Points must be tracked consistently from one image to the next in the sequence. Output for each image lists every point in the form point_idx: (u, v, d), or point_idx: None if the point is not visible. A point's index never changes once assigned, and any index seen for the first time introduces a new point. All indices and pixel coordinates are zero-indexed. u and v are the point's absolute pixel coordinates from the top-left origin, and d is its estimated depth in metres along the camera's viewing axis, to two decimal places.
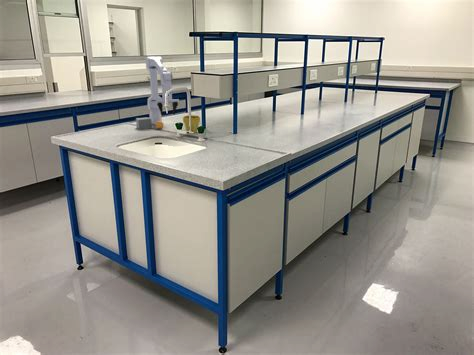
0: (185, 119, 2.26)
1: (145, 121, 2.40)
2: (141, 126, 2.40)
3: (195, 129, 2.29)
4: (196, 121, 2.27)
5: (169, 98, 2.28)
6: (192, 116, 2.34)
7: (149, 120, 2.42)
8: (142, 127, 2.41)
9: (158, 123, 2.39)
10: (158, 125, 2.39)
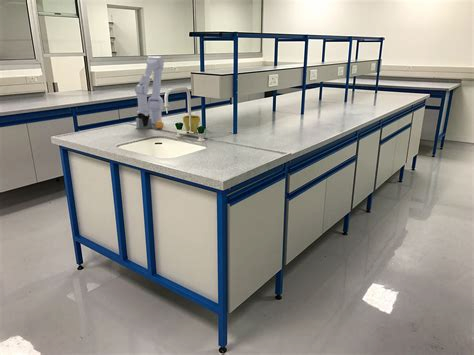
0: (185, 119, 2.26)
1: None
2: (141, 126, 2.40)
3: (195, 129, 2.29)
4: (196, 121, 2.27)
5: (139, 109, 2.38)
6: (192, 116, 2.34)
7: (149, 120, 2.42)
8: (142, 127, 2.41)
9: (158, 123, 2.39)
10: (158, 125, 2.39)
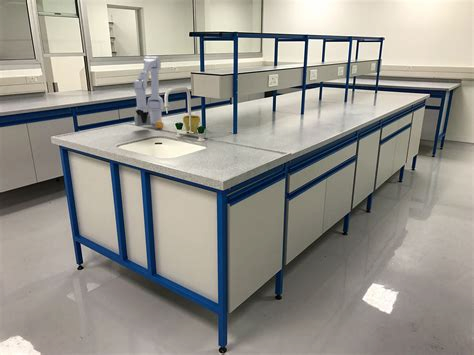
0: (185, 119, 2.26)
1: None
2: (139, 123, 2.32)
3: (195, 129, 2.29)
4: (196, 121, 2.27)
5: (137, 106, 2.30)
6: (192, 116, 2.34)
7: (148, 117, 2.33)
8: (141, 124, 2.32)
9: (158, 123, 2.39)
10: (158, 125, 2.39)
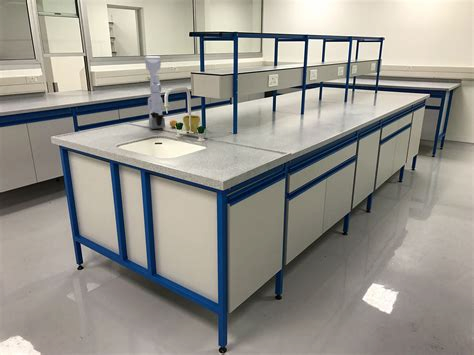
0: (185, 119, 2.26)
1: None
2: (154, 126, 2.37)
3: (195, 129, 2.29)
4: (196, 121, 2.27)
5: (152, 109, 2.36)
6: (192, 116, 2.34)
7: (162, 119, 2.39)
8: (155, 127, 2.38)
9: (174, 126, 2.45)
10: None
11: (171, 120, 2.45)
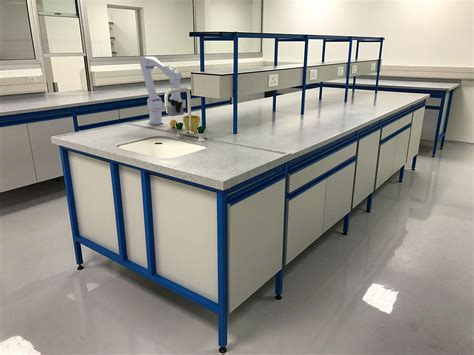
0: (185, 119, 2.26)
1: None
2: (173, 113, 2.41)
3: (195, 129, 2.29)
4: (196, 121, 2.27)
5: (172, 96, 2.40)
6: (192, 116, 2.34)
7: (181, 107, 2.42)
8: (174, 114, 2.42)
9: (174, 126, 2.45)
10: None
11: (171, 120, 2.45)
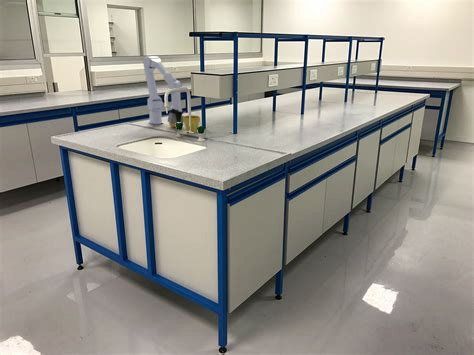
0: (185, 119, 2.26)
1: None
2: (173, 121, 2.42)
3: (195, 129, 2.29)
4: (196, 121, 2.27)
5: (172, 105, 2.42)
6: (192, 116, 2.34)
7: (182, 117, 2.45)
8: (174, 122, 2.43)
9: (174, 126, 2.45)
10: None
11: None
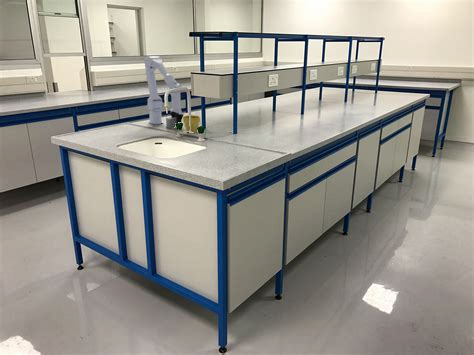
0: (185, 119, 2.26)
1: (175, 121, 2.43)
2: (171, 125, 2.43)
3: (195, 129, 2.29)
4: (196, 121, 2.27)
5: (172, 108, 2.42)
6: (192, 116, 2.34)
7: None
8: (172, 126, 2.43)
9: None
10: None
11: None
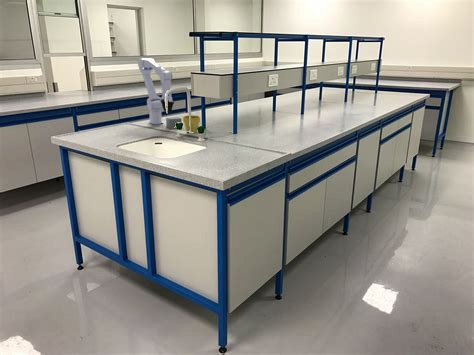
0: (185, 119, 2.26)
1: (175, 121, 2.43)
2: (171, 125, 2.43)
3: (195, 129, 2.29)
4: (196, 121, 2.27)
5: (163, 96, 2.40)
6: (192, 116, 2.34)
7: (179, 120, 2.44)
8: (172, 126, 2.43)
9: None
10: None
11: None
